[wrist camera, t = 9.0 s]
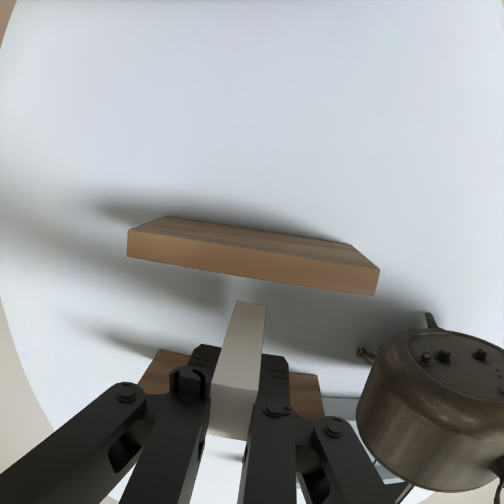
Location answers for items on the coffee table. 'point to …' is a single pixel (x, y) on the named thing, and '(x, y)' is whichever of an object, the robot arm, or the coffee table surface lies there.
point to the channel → (252, 266)
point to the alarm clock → (435, 409)
